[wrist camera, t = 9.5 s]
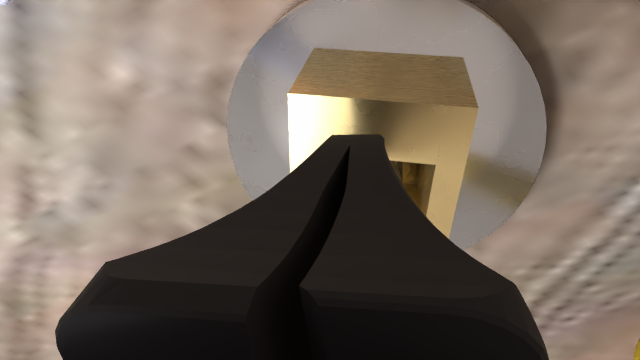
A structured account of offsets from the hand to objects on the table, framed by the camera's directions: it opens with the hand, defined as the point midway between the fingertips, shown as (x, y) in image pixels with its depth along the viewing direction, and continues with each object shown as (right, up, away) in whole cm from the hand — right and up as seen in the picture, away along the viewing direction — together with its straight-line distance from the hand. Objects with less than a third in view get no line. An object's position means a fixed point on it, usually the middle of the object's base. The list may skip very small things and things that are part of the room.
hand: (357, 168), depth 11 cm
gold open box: (+1, +1, +5) cm, 6 cm away
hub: (+1, +1, +6) cm, 7 cm away
